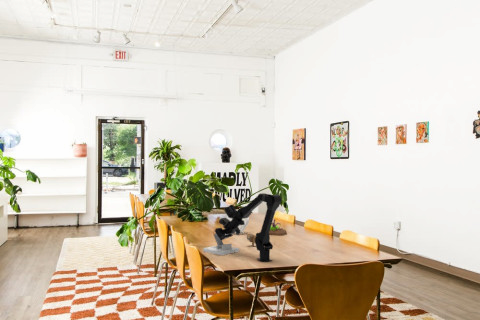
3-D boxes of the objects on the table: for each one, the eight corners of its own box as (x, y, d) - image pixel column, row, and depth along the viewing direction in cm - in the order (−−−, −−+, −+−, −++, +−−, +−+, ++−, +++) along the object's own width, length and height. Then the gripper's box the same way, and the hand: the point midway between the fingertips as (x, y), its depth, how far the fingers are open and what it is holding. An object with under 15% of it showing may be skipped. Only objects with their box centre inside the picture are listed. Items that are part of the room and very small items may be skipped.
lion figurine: (246, 247, 294) (246, 233, 294) (246, 245, 299) (246, 232, 299) (268, 247, 294) (268, 234, 294) (267, 245, 300) (268, 232, 300)
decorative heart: (227, 235, 335) (228, 213, 335) (224, 233, 345) (224, 211, 345) (250, 235, 340) (251, 212, 340) (246, 232, 350) (246, 210, 350)
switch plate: (239, 251, 280) (239, 243, 280) (222, 255, 268) (222, 247, 268) (220, 247, 290) (220, 240, 290) (203, 251, 278) (203, 243, 278)
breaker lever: (225, 246, 280) (218, 229, 284) (220, 247, 276) (213, 230, 280) (223, 248, 281) (216, 231, 285) (218, 249, 278) (211, 232, 281)
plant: (288, 232, 357) (288, 218, 357) (285, 236, 338) (285, 221, 337) (263, 231, 361) (264, 217, 361) (259, 235, 342) (259, 220, 342)
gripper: (237, 212, 283) (224, 228, 290) (217, 215, 269) (203, 231, 276) (246, 226, 278) (233, 241, 285) (226, 229, 264) (212, 245, 271)
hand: (220, 239), depth 280 cm, fingers closed
